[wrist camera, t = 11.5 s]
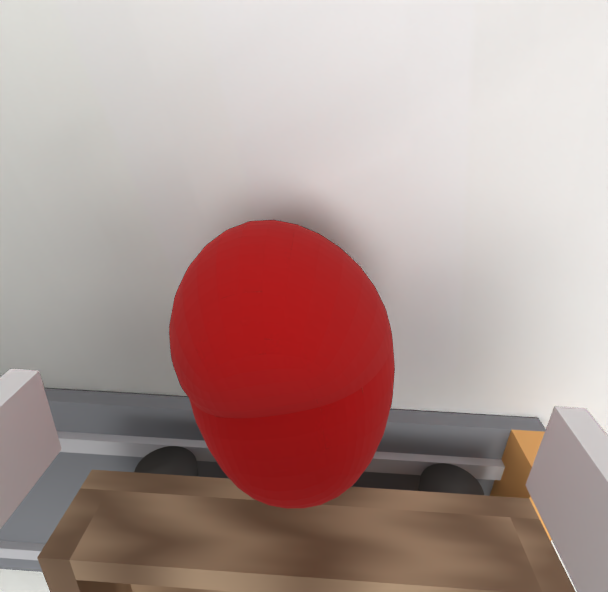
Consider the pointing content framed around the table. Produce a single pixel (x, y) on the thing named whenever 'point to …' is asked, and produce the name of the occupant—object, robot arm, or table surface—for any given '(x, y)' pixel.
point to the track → (185, 433)
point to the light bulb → (283, 361)
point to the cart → (294, 537)
